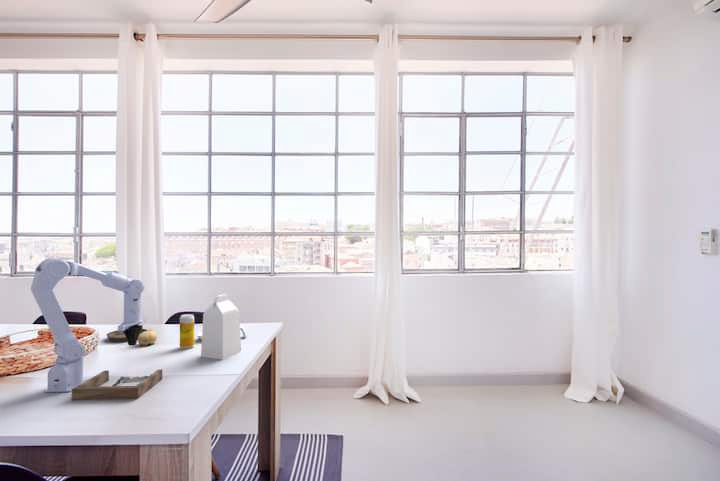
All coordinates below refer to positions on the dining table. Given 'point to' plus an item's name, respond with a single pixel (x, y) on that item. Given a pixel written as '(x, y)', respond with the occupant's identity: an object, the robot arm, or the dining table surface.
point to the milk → (221, 329)
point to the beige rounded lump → (147, 337)
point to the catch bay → (113, 388)
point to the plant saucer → (120, 335)
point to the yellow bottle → (186, 331)
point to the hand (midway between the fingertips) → (132, 345)
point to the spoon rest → (240, 329)
